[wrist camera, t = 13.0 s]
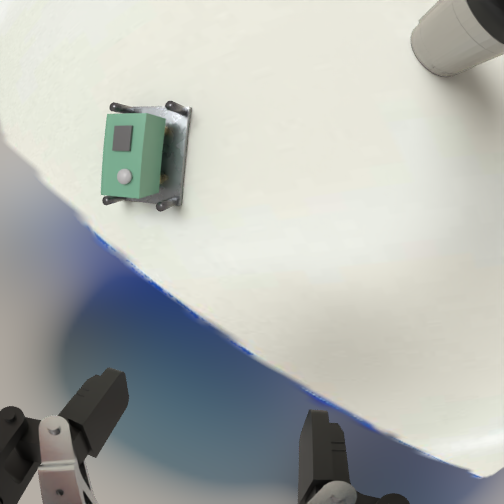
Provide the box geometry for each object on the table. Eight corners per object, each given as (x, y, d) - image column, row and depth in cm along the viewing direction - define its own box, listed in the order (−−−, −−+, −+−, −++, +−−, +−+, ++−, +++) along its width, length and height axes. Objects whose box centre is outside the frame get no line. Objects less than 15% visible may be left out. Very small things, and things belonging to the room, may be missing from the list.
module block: (129, 118, 37) (104, 113, 31) (166, 118, 37) (144, 112, 31) (123, 189, 40) (98, 195, 34) (158, 192, 40) (136, 199, 34)
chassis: (129, 108, 40) (108, 102, 34) (191, 107, 39) (176, 100, 34) (121, 198, 44) (100, 204, 39) (181, 204, 44) (166, 212, 38)
